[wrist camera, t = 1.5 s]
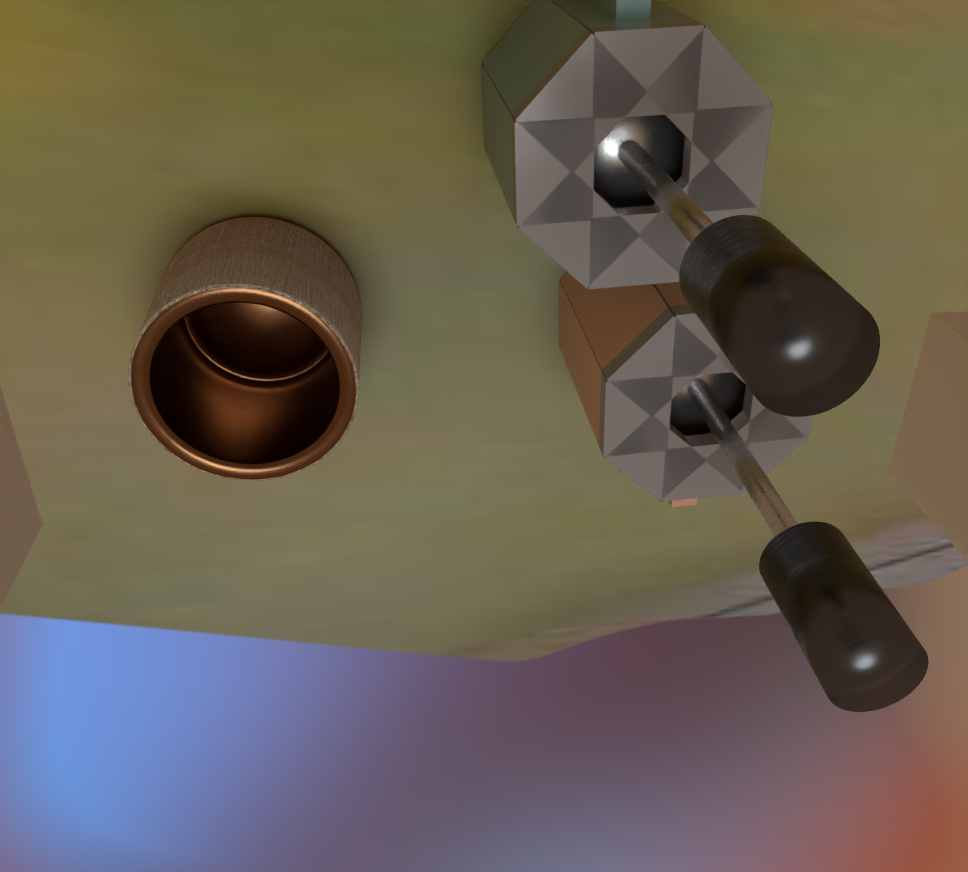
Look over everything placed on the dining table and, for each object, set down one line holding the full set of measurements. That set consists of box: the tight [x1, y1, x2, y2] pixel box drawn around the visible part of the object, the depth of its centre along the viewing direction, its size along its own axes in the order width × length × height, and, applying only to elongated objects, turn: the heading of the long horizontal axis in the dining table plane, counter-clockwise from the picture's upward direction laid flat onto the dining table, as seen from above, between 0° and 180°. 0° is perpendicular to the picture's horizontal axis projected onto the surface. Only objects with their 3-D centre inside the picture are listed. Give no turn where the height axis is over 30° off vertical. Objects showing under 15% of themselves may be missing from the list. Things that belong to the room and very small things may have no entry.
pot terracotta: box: [559, 272, 813, 507], centre depth 50 cm, size 13×10×12 cm
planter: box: [128, 217, 362, 481], centre depth 48 cm, size 11×11×10 cm
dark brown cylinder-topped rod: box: [594, 115, 880, 417], centre depth 32 cm, size 8×8×20 cm
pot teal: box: [482, 0, 773, 289], centre depth 42 cm, size 13×10×12 cm
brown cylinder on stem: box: [670, 372, 928, 712], centre depth 38 cm, size 8×8×20 cm
